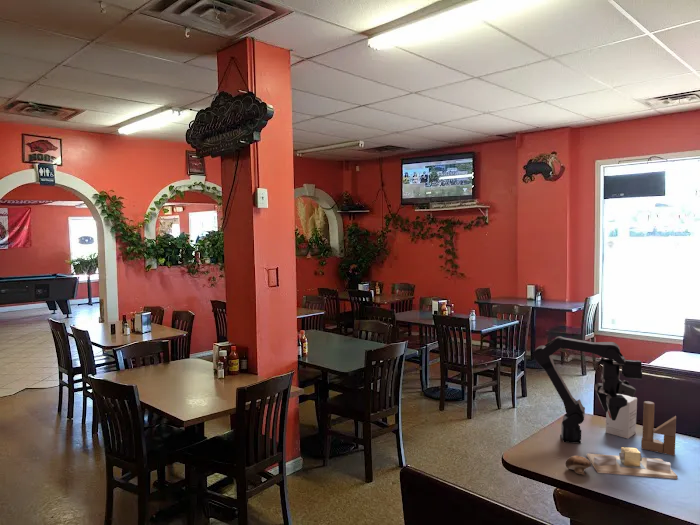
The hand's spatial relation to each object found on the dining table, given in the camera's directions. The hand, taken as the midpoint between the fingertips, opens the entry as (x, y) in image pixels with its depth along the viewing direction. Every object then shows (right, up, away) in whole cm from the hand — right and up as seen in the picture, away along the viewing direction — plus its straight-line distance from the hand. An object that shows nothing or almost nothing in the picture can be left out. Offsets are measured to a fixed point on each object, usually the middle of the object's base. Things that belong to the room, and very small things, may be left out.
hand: (609, 415), depth 197 cm
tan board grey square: (-1, -13, -16) cm, 21 cm away
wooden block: (+17, -12, -3) cm, 21 cm away
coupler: (-1, -12, -16) cm, 20 cm away
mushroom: (-21, -14, -20) cm, 32 cm away
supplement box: (+11, -11, +14) cm, 21 cm away
